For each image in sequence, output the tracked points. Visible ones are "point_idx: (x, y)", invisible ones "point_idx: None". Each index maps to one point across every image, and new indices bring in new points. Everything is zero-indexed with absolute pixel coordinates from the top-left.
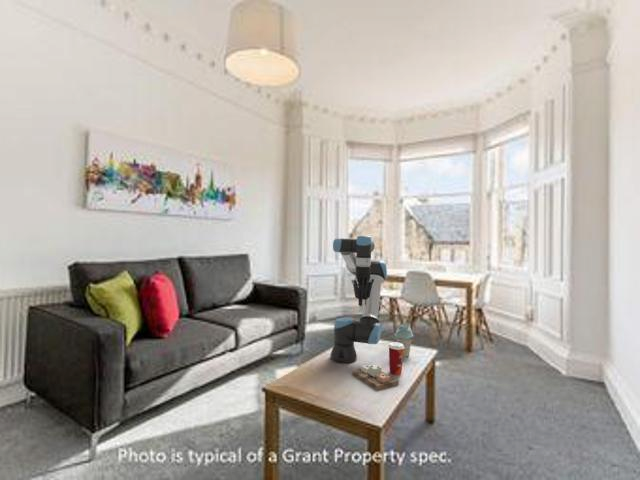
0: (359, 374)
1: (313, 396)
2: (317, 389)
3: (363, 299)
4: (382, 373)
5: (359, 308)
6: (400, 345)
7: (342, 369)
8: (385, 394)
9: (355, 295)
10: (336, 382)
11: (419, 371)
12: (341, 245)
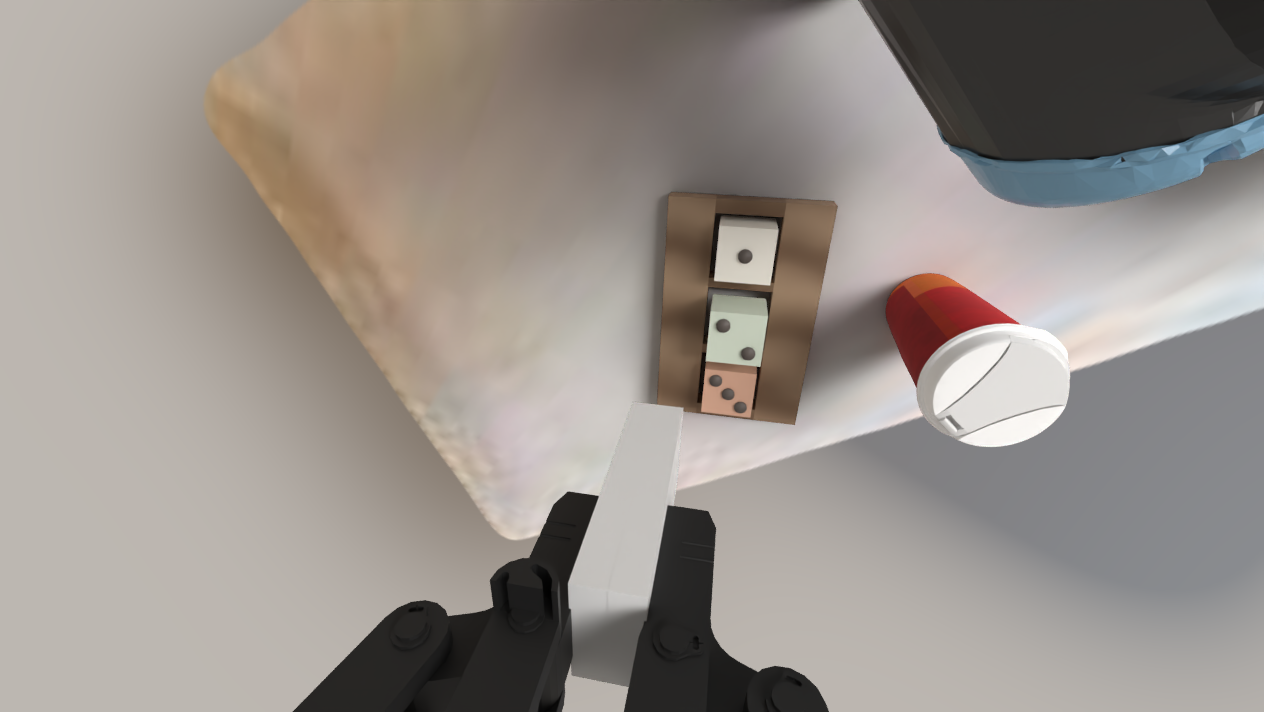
0: (667, 264)
1: (378, 296)
2: (414, 250)
3: (617, 663)
4: (746, 374)
5: (622, 435)
6: (997, 432)
7: (664, 86)
8: None
9: (345, 683)
10: (531, 233)
11: None
12: None
